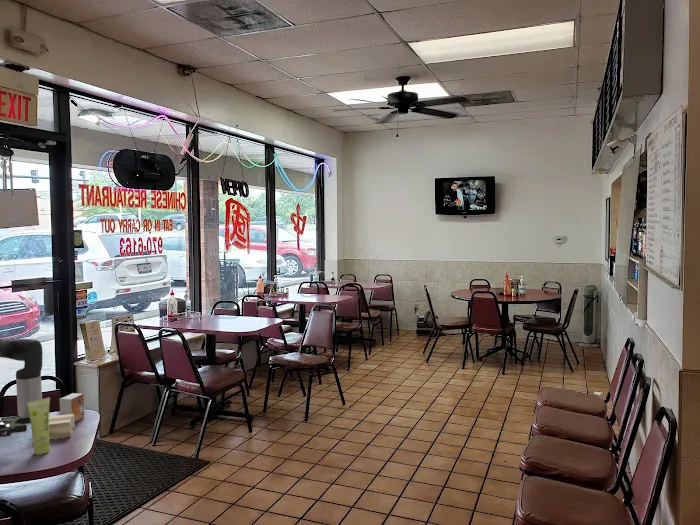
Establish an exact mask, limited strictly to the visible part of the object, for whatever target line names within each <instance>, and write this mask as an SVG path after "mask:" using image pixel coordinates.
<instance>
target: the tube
mask: <svg viewBox="0 0 700 525" xmlns="http://www.w3.org/2000/svg"><path fill="white" fill-rule="evenodd" d="M50 402H51V397H45V398H42V399H41V400H36V401H32V402H27V406H28V410H29V416H30V422H31V423H30V427H31V435H32V445H33V453H34V454H35V455H38V456H40V455H45V454H47V453H48V452H50V440H49V416H50V404H51V403H50Z"/></svg>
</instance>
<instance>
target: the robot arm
mask: <svg viewBox="0 0 700 525" xmlns="http://www.w3.org/2000/svg"><path fill="white" fill-rule="evenodd" d="M0 358H4V359H9V360H14V361H19V362H23V364H24V365H23V367H22V368H20V369H18V370H16V372H15V383H16V398H17V399H16V401H17V402H16V403H17V404H16V405H17V415H13V416H3V417H1V418H0V438H2V437H4V438H5V437H11V436H12V435H14V434H16V433H26V432H27V430H28V427H27V426H28V425H27V424H29V425H30V424H31V422H30V416H29V410H28V406H27V402H32V401H36V400H41V399H43V392H42V389H43V388H42V375H41V374H42V369H43V346H42V343H41V341H39V340H38V339H32V338H31V339H30V338H16V339H4V338H0Z"/></svg>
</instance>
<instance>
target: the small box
mask: <svg viewBox="0 0 700 525" xmlns="http://www.w3.org/2000/svg"><path fill="white" fill-rule="evenodd" d="M84 398H85V397H84V393H76V392H75V393H74V392H72V393H70V394H68V395H65V396H63V397H61V398H59V414H60V415H67V414H74V424H75V423H77V422H78V420H79V421H81V420H83V419H85V401H84V400H85V399H84ZM82 418H83V419H82ZM80 419H81V420H80ZM76 421H77V422H76Z"/></svg>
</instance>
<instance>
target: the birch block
mask: <svg viewBox="0 0 700 525" xmlns="http://www.w3.org/2000/svg"><path fill="white" fill-rule="evenodd" d="M73 430H74V431H75V423H74V414H67V415H49V441H51V440H50V439H53V440H59V439H58V438H62V439H68V438H67V437H70V438H72V436H73V433H74V431H73ZM71 435H72V436H71Z"/></svg>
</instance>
